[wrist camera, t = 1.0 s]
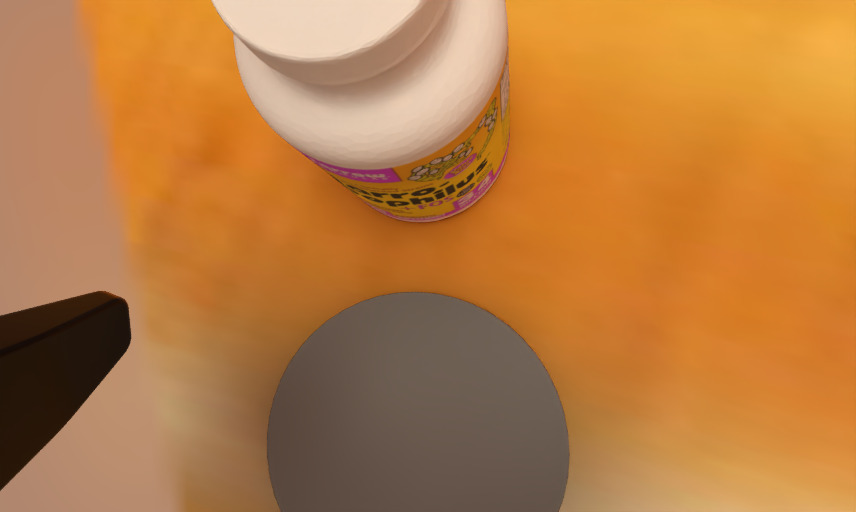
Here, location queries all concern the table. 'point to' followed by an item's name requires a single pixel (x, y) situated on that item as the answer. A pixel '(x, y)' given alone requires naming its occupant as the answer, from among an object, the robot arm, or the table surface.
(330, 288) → the table surface
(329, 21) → the supplement bottle
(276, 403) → the slate coaster
